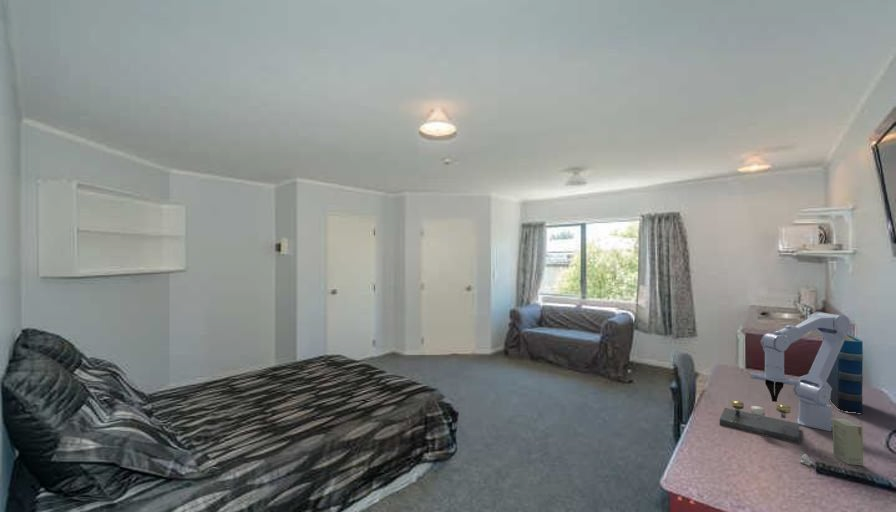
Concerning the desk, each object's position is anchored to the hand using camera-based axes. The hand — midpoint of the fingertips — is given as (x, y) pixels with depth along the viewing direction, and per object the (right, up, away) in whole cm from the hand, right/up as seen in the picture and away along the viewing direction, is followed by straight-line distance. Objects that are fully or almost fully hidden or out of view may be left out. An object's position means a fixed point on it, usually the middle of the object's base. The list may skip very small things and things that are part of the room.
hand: (774, 400), depth 149 cm
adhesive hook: (-12, -11, -28) cm, 32 cm away
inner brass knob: (+2, -5, -2) cm, 6 cm away
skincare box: (+3, -10, -24) cm, 27 cm away
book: (+48, -10, +21) cm, 54 cm away
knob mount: (-6, -10, 0) cm, 12 cm away
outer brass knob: (-9, -8, +8) cm, 14 cm away
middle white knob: (-9, -6, -4) cm, 12 cm away
